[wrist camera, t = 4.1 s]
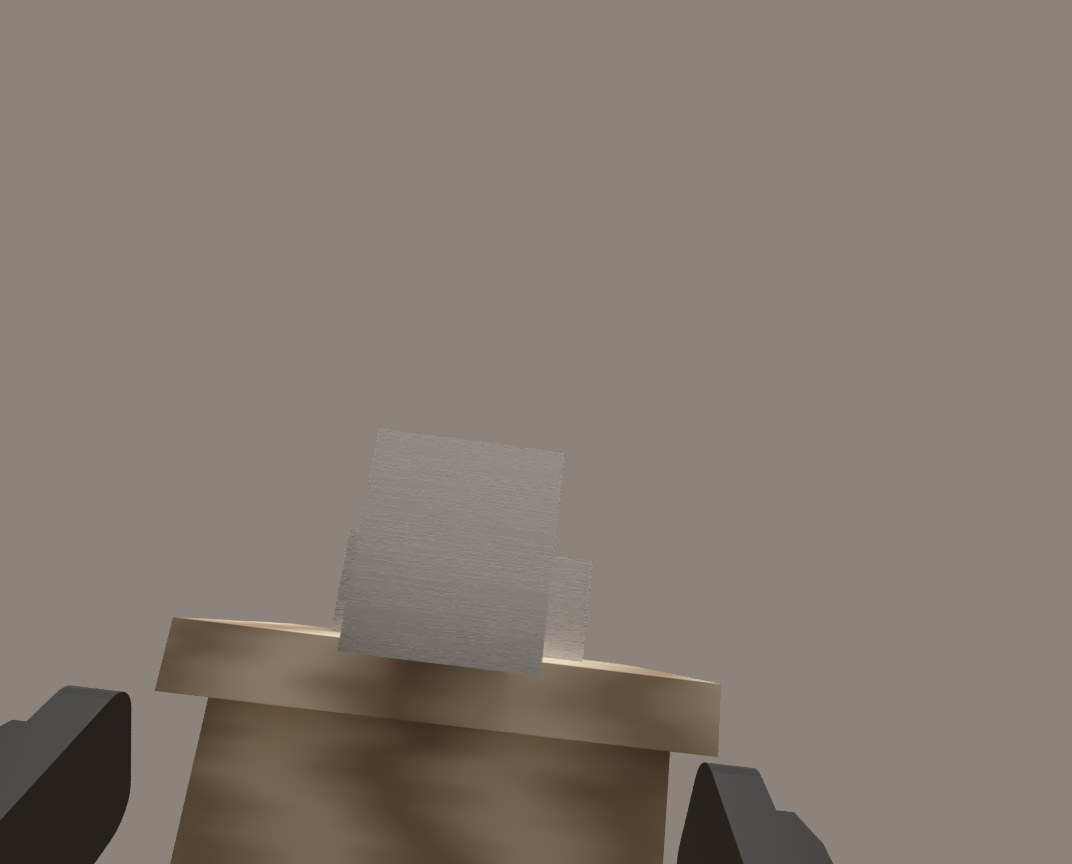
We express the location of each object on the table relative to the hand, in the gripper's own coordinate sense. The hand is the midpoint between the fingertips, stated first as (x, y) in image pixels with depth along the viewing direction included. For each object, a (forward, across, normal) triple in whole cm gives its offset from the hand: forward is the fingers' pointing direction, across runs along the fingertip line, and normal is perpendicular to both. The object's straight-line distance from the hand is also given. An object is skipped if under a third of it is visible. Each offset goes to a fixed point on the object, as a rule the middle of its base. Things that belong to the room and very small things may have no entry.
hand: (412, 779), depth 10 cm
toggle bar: (+11, 0, +5) cm, 12 cm away
